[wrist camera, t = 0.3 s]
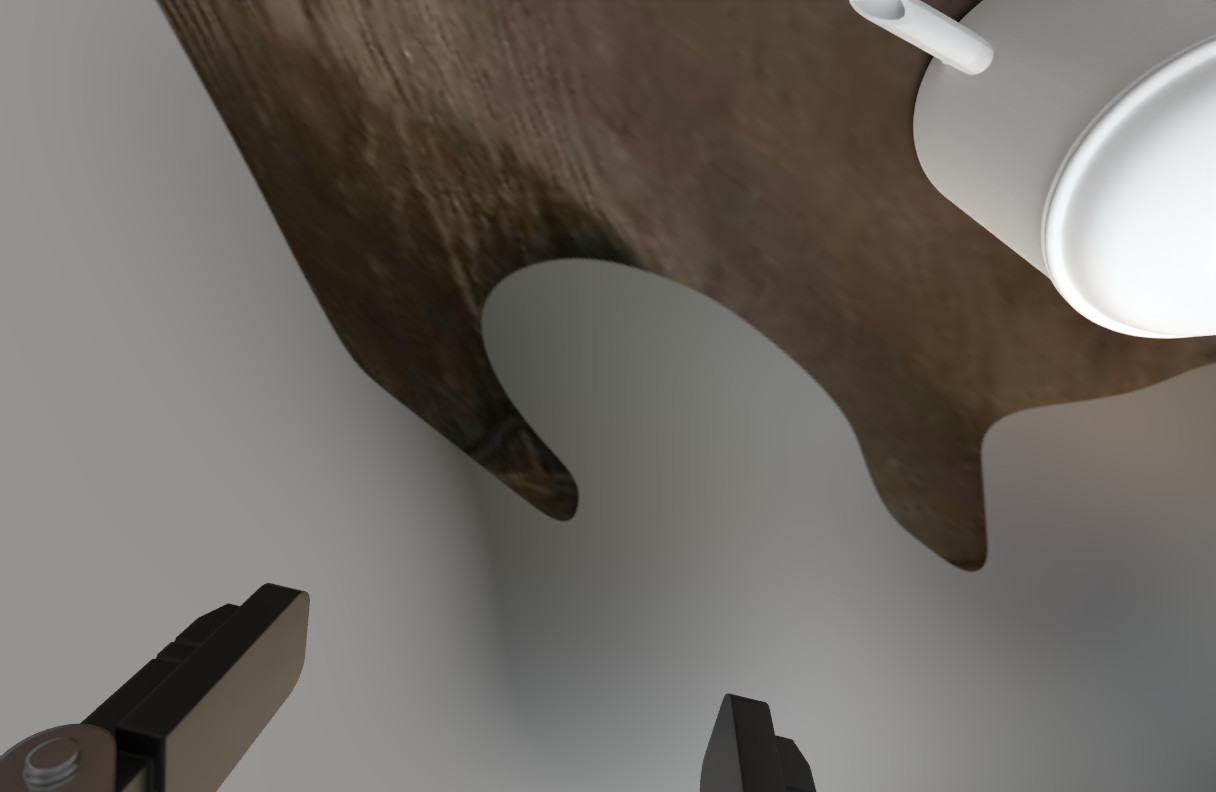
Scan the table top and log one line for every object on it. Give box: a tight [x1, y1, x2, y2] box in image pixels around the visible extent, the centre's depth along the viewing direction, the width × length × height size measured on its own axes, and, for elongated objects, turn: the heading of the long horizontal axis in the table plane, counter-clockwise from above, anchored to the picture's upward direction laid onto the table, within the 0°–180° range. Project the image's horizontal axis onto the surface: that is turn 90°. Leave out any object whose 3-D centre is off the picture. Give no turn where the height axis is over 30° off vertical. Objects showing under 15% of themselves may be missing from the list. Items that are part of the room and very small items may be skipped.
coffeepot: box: [849, 0, 1216, 338], centre depth 24 cm, size 11×25×19 cm, turn 66°
